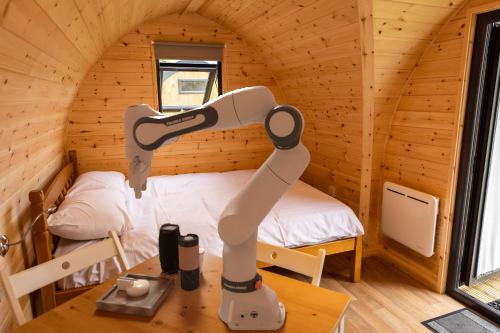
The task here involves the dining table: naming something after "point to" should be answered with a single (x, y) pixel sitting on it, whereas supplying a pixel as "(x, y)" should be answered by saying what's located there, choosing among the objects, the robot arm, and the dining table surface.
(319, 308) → the dining table surface
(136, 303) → the panel
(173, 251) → the portable speaker
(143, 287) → the beige rounded piece
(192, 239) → the travel mug
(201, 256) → the smoothie
